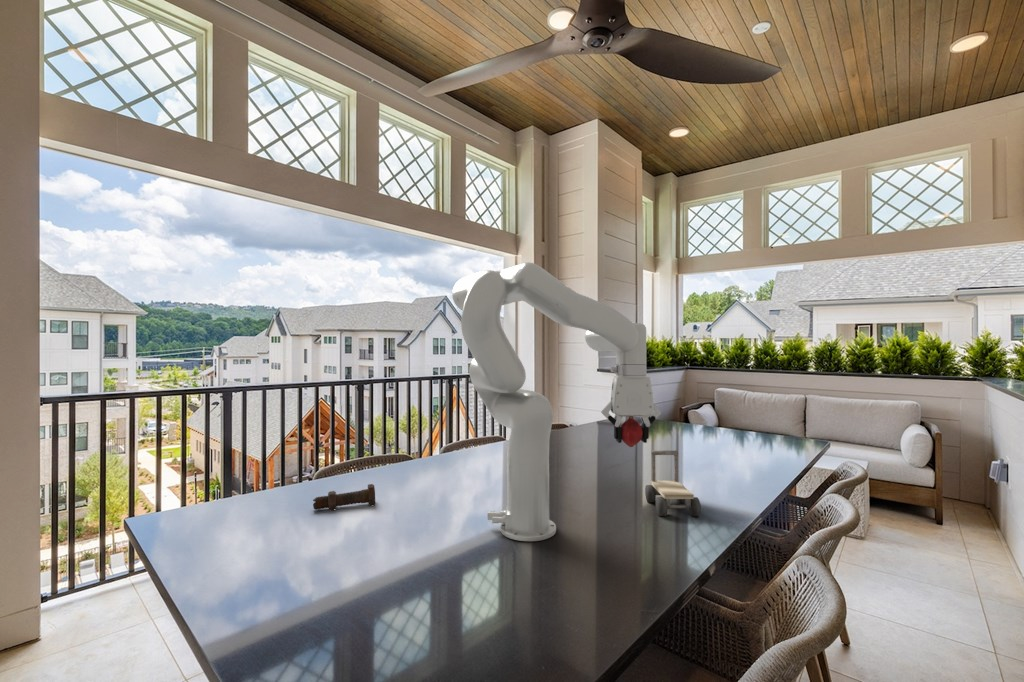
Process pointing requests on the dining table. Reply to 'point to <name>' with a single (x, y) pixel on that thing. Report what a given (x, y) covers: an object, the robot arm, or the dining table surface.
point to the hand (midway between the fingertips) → (631, 441)
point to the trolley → (670, 490)
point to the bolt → (345, 498)
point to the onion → (631, 432)
